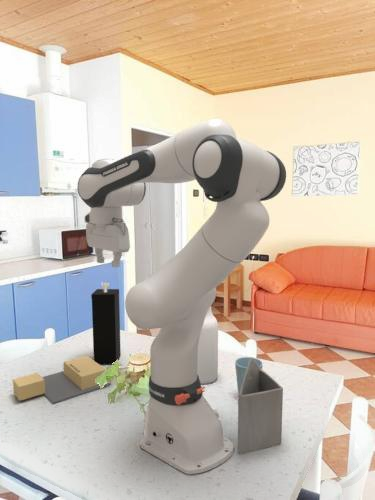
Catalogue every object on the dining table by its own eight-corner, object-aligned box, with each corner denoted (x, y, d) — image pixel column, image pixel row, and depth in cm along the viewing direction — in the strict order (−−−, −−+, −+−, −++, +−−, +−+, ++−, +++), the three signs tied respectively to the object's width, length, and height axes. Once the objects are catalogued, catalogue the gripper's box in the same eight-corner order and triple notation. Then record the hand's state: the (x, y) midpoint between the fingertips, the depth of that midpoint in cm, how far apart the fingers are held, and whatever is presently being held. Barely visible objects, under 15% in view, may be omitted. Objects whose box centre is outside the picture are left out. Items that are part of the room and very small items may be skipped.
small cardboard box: (45, 393, 114) (44, 379, 113) (19, 400, 110) (19, 387, 109) (38, 385, 119) (37, 372, 118) (13, 392, 114) (12, 379, 114)
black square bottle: (116, 365, 135) (114, 284, 132) (93, 364, 136) (90, 284, 132) (120, 356, 143) (118, 279, 140) (99, 356, 143) (96, 279, 140)
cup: (267, 400, 111) (268, 364, 110) (244, 406, 108) (244, 369, 107) (252, 388, 118) (252, 355, 117) (230, 394, 115) (230, 359, 114)
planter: (272, 464, 84) (274, 377, 82) (236, 453, 88) (238, 370, 86) (288, 425, 99) (291, 351, 96) (257, 418, 102) (259, 345, 100)
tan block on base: (111, 385, 120) (111, 371, 120) (52, 404, 109) (51, 388, 109) (86, 366, 134) (85, 353, 134) (31, 381, 123) (31, 367, 123)
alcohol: (208, 387, 119) (209, 289, 115) (184, 380, 124) (184, 286, 120) (222, 376, 126) (223, 284, 123) (199, 370, 131) (199, 281, 127)
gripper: (134, 218, 108) (135, 268, 110) (100, 216, 124) (102, 259, 126) (114, 219, 104) (115, 270, 106) (81, 216, 120) (83, 261, 122)
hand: (107, 264), depth 116 cm, fingers open, 8 cm apart
